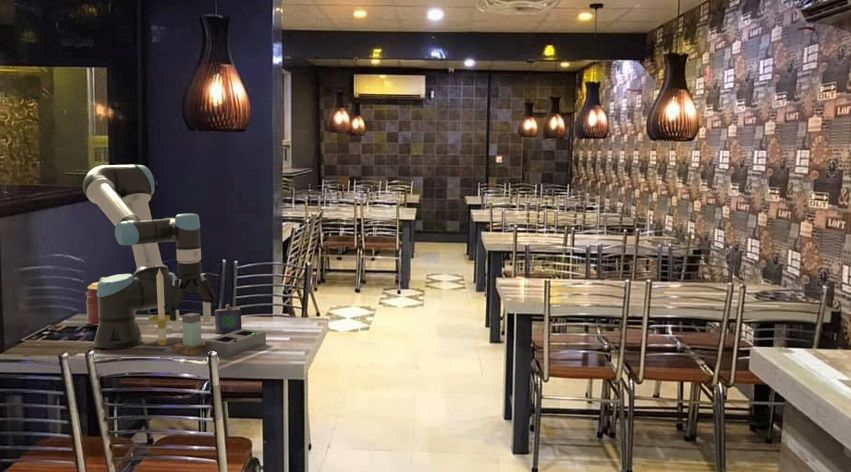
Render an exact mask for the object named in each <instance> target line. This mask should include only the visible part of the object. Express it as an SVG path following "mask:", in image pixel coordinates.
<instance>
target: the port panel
mask: <svg viewBox="0 0 851 472" xmlns="http://www.w3.org/2000/svg"><path fill="white" fill-rule="evenodd" d="M266 334H267V332H266V331H261V330H254V329H247V328H242V329H240V330H237V331H234V332H231V333H227V334H222V335H218V336H215V337H211V338H208V339H205V340H203V341H204V342H205V352H204V354H208V352H210V351H215V352H217V354H218V355H219V357H224V358H230V357H234V356H236V355H238V354H241V353H245V352H248V351H251V350H254V349H256V348H259V347H262V346H265V345H267V336H266ZM208 355H209V354H208ZM218 355H217V356H218Z"/></svg>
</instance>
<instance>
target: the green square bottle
mask: <svg viewBox="0 0 851 472" xmlns="http://www.w3.org/2000/svg"><path fill="white" fill-rule="evenodd" d="M181 318H182V319H181V321H182V342H183V345H185V346H191V347H193V346H196V345H199V344H201V341H202V326H201V325H202V324H201V313H197V312H196V313H195V312H188V313H185V314H182V315H181Z"/></svg>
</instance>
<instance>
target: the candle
mask: <svg viewBox="0 0 851 472" xmlns="http://www.w3.org/2000/svg"><path fill="white" fill-rule="evenodd" d="M156 277H157V300H158V308H157V315H153V316H151V317H148V321H149V322H153V323H157V331H158V332H157V333H158V334H157V335H158V336H157V337H158V345H159V346H165V345H167V323H166V322H169V321H171V320H170V314H166V312H165V311H166V309H164V284H163V275H162V273H161V271H160V268H159V272H158V274H157V275H156Z"/></svg>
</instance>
